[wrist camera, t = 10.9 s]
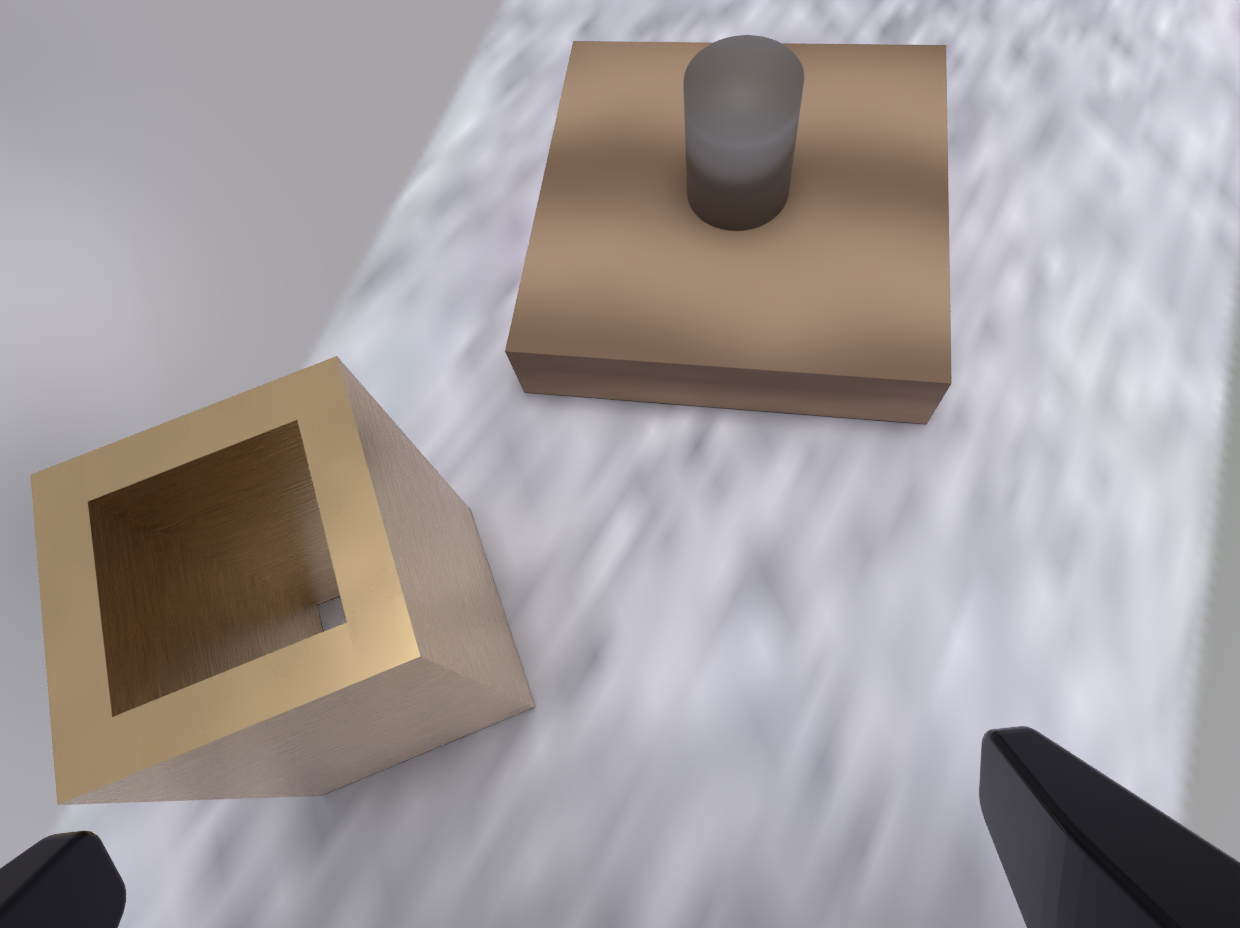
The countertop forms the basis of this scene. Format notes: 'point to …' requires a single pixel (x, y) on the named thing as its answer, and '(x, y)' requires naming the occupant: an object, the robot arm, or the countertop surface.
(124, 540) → the collar
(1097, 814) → the robot arm
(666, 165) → the post stand
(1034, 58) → the countertop surface
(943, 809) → the countertop surface
